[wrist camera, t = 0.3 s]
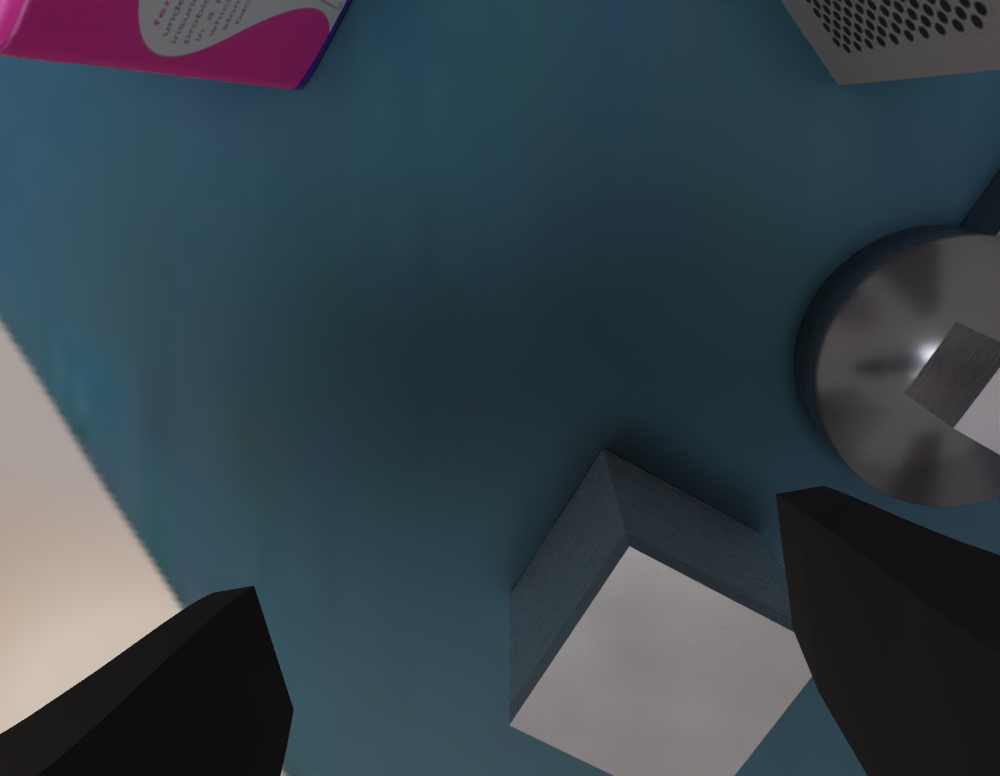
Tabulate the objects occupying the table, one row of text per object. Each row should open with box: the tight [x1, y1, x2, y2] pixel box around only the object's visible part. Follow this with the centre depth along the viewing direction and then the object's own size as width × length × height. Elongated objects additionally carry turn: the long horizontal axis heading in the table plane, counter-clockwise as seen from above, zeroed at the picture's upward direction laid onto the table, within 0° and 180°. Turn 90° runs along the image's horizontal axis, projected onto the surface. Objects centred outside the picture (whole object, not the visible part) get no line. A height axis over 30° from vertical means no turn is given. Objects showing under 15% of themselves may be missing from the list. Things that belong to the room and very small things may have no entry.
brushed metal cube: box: [509, 449, 812, 776], centre depth 20 cm, size 5×5×5 cm
